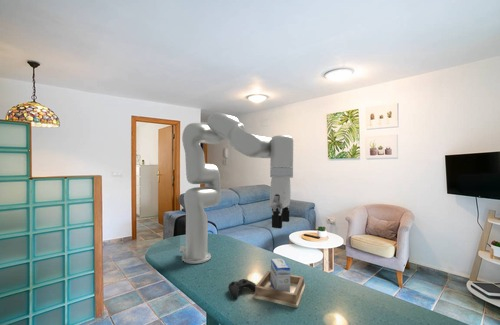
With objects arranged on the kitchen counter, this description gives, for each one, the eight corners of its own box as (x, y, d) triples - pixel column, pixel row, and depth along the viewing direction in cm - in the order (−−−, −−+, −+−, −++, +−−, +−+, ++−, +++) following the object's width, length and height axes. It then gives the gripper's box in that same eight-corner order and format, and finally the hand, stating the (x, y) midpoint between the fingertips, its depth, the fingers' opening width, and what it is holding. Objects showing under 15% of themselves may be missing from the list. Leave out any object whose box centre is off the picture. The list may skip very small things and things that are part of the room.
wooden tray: (253, 297, 76) (253, 287, 76) (267, 278, 89) (267, 269, 89) (297, 308, 71) (297, 296, 71) (305, 286, 84) (305, 276, 84)
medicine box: (270, 283, 84) (270, 258, 84) (282, 282, 85) (282, 257, 85) (277, 296, 76) (277, 268, 76) (290, 294, 77) (290, 267, 77)
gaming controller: (235, 298, 74) (228, 279, 78) (228, 305, 77) (222, 286, 81) (260, 290, 80) (252, 272, 83) (253, 296, 83) (246, 279, 86)
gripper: (277, 172, 90) (277, 218, 90) (262, 173, 74) (261, 229, 74) (297, 172, 87) (297, 220, 87) (286, 173, 71) (285, 232, 71)
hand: (280, 224), depth 81 cm, fingers open, 9 cm apart
